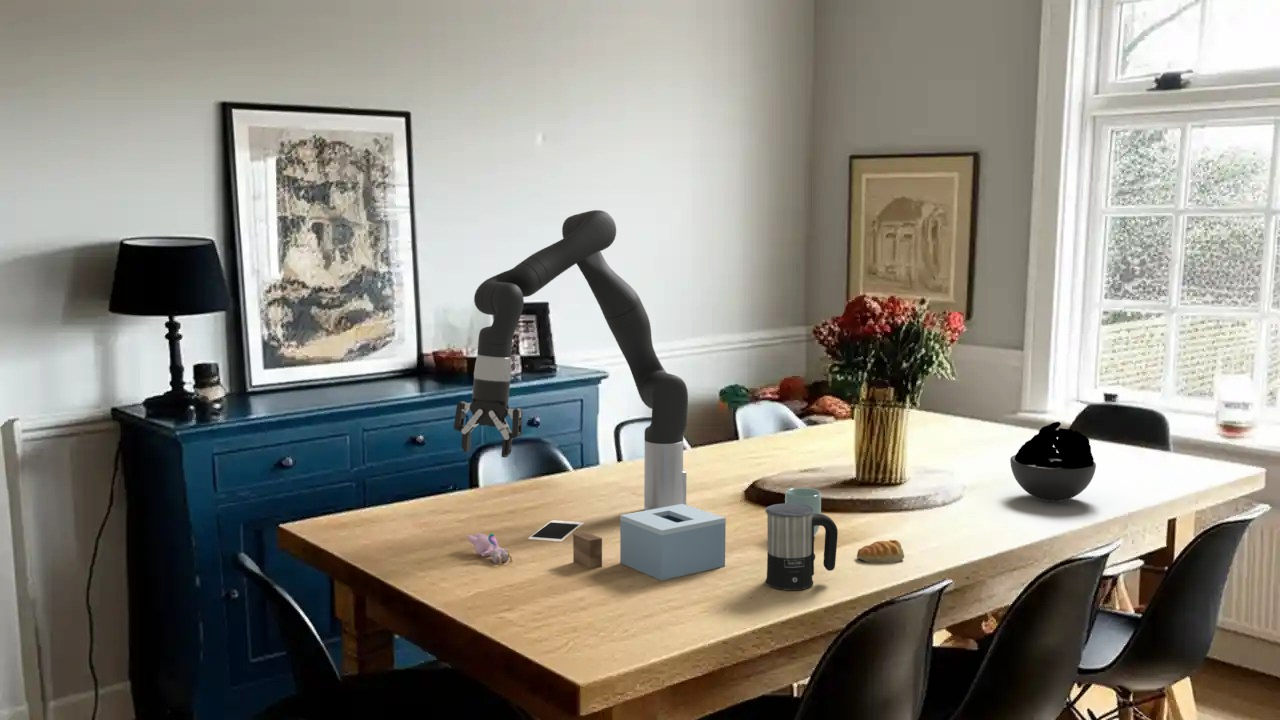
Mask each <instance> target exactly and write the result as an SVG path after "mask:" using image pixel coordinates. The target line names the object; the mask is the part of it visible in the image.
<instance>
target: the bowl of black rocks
mask: <svg viewBox="0 0 1280 720" xmlns="http://www.w3.org/2000/svg"><path fill="white" fill-rule="evenodd" d="M1061 424H1062V423H1061V422H1060V421H1056V422H1052V423H1049V424H1047V425H1045V426H1042V427H1041V428H1040V429H1039V430H1038V433H1037V434H1035V435H1033V437H1032V438H1031V439H1029V440H1027V441H1026V442H1025V443H1024V444H1022V445H1021V447H1020V448H1019V449H1018V451H1017V453H1016V454H1015V455H1012V456H1011V457H1010V459H1009V462H1010V468H1011V472H1012V474H1013V477H1014V479H1015V480H1016V482H1017V484H1018V485H1019V486H1020V487H1021V488H1022V489H1023V490H1024V492H1026V493H1028V494H1029V495H1031V496H1032V497H1035V498H1036V499H1039V500H1042V501H1046V502H1063V501H1064V502H1065V501H1066V500H1071V499H1072V498H1074V497H1076V496H1078V495H1080V494H1081V493H1082V492H1083V491H1084V490H1086V489H1087V488H1088V486H1089V485H1090V483H1091V481H1092V480H1093V478H1094V475H1095V472H1096V468H1097V463H1096V462H1095V461H1094V459H1095V458H1094V456H1093V454H1092V447H1091V444H1090V439H1089V438H1088V437H1087V436H1086V435H1084V434H1083V433H1081V432H1079V431H1078V430H1073V429H1070V428H1063V427H1060V426H1061Z"/></svg>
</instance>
